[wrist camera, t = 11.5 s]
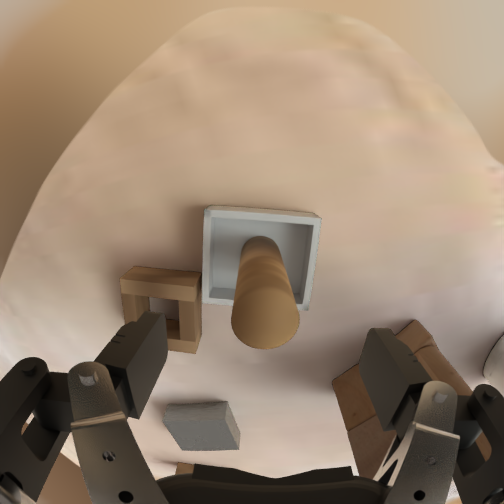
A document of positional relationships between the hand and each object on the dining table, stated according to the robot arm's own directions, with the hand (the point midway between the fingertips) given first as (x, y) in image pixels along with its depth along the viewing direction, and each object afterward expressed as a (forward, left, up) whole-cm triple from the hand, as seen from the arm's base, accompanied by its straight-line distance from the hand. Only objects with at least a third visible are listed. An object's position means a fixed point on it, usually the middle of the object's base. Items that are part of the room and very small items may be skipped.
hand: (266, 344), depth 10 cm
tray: (0, 0, -12) cm, 12 cm away
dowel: (0, 0, -12) cm, 12 cm away
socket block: (+8, +5, -12) cm, 15 cm away
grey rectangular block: (+5, +20, -13) cm, 25 cm away
